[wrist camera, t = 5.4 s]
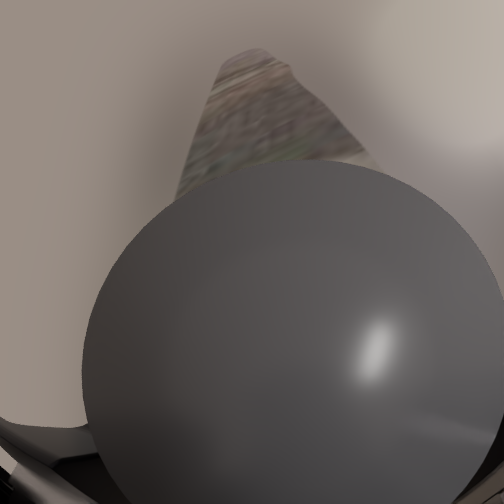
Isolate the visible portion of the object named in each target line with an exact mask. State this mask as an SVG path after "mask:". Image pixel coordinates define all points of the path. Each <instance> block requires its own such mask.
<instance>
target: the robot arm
mask: <svg viewBox="0 0 504 504" xmlns="http://www.w3.org/2000/svg"><path fill="white" fill-rule="evenodd" d="M0 446H1V447H2V448H3V449H4V450H5V451H6V452H7V453H8V454H9V455H10V456H11V457H12V458H14V459H15V460H16V461H17V462H18V463H17V465H16V467H15V469H14V470H13V472H12V474H11V475H10V474H9V473H8V472H7V471H6V470H4V469H3V468H2V467H1V466H0V504H132V503H131V502H130V501H129V500H128V499H127V498H126V497H125V495H124V494H123V493H122V491H121V490H120V489H119V487H118V486H117V484H116V483H115V481H114V480H113V479H112V477H111V476H110V474H109V472H108V470H107V469H106V467H105V465H104V463H103V461H102V459H101V457H100V455H99V453H98V451H97V448H96V446H95V443H94V440H93V437H92V434H91V431H90V428H89V425H88V424H85V425H83V426H80V427H75V428H54V427H38V426H27V425H20V424H15V423H11V422H8V421H6V420H5V419H3V418H1V417H0ZM451 504H504V415H503V418H502V421H501V424H500V426H499V429H498V432H497V435H496V437H495V439H494V441H493V443H492V445H491V447H490V449H489V451H488V453H487V455H486V457H485V459H484V461H483V463H482V464H481V466H480V467H479V469H478V470H477V472H476V473H475V475H474V476H473V478H472V479H471V480H470V482H469V483H468V485H467V486H466V487H465V488H464V490H463V491H462V492H461V493H460V494H459V495H458V496H457V497H456V499H455V500H454V501H453V502H452V503H451Z"/></svg>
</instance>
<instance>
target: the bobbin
mask: <svg viewBox="0 0 504 504" xmlns="http://www.w3.org/2000/svg"><path fill="white" fill-rule="evenodd" d="M82 389H83V400H84V405H85V411H86V416H87V421H88V425H89V428H90V431H91V434H92V437H93V440H94V443H95V446H96V448H97V451H98V453H99V455H100V457H101V459H102V461H103V463H104V465H105V467H106V469H107V470H108V472H109V474H110V476H111V477H112V479H113V480H114V481H115V483H116V484H117V486H118V487H119V489H120V490H121V491H122V493H123V494H124V495H125V497H126V498H127V499H128V500H129V501H130V502H131V503H132V504H451V503H452V502H453V501H454V500H455V499H456V497H457V496H458V495H459V494H460V493H461V492H462V491H463V490H464V488H465V487H466V486H467V485H468V483H469V482H470V480H471V479H472V478H473V476H474V475H475V473H476V472H477V470H478V469H479V467H480V466H481V464H482V463H483V461H484V459H485V457H486V455H487V453H488V451H489V449H490V447H491V445H492V443H493V441H494V439H495V437H496V435H497V432H498V429H499V426H500V424H501V421H502V418H503V415H504V300H503V297H502V294H501V292H500V289H499V286H498V283H497V281H496V278H495V276H494V274H493V272H492V270H491V268H490V266H489V265H488V263H487V261H486V259H485V257H484V255H483V254H482V253H481V251H480V250H479V248H478V247H477V245H476V244H475V243H474V241H473V240H472V238H471V237H470V236H469V234H468V233H467V232H466V231H465V230H464V229H463V228H462V227H461V225H460V224H459V223H458V222H457V221H456V220H455V219H454V218H453V217H452V216H451V215H450V214H449V213H447V212H446V211H445V210H444V209H443V208H442V207H440V206H439V205H438V204H437V203H436V202H434V201H433V200H432V199H430V198H429V197H427V196H426V195H424V194H422V193H421V192H419V191H418V190H416V189H415V188H413V187H411V186H409V185H407V184H405V183H403V182H401V181H399V180H397V179H395V178H393V177H391V176H389V175H386V174H383V173H380V172H377V171H374V170H371V169H368V168H365V167H361V166H356V165H352V164H347V163H342V162H335V161H324V160H286V161H279V162H272V163H265V164H259V165H256V166H252V167H248V168H244V169H240V170H237V171H234V172H231V173H229V174H226V175H223V176H221V177H218V178H216V179H213V180H211V181H209V182H207V183H205V184H203V185H201V186H199V187H197V188H196V189H194V190H192V191H190V192H188V193H186V194H185V195H184V196H182V197H181V198H179V199H178V200H176V201H175V202H173V203H172V204H171V205H169V206H168V207H166V208H165V209H164V210H163V211H161V212H160V213H159V214H158V215H157V216H156V217H155V218H153V219H152V220H151V221H150V222H149V223H148V224H147V225H146V226H145V227H144V228H143V229H142V230H141V231H140V232H139V233H138V234H137V235H136V237H135V238H134V239H133V240H132V241H131V242H130V243H129V244H128V246H127V247H126V248H125V250H124V251H123V253H122V254H121V255H120V257H119V258H118V260H117V261H116V263H115V264H114V266H113V267H112V269H111V270H110V272H109V274H108V276H107V278H106V280H105V282H104V284H103V286H102V288H101V290H100V292H99V294H98V297H97V299H96V302H95V305H94V307H93V310H92V313H91V316H90V319H89V324H88V328H87V332H86V337H85V342H84V349H83V360H82Z"/></svg>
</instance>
